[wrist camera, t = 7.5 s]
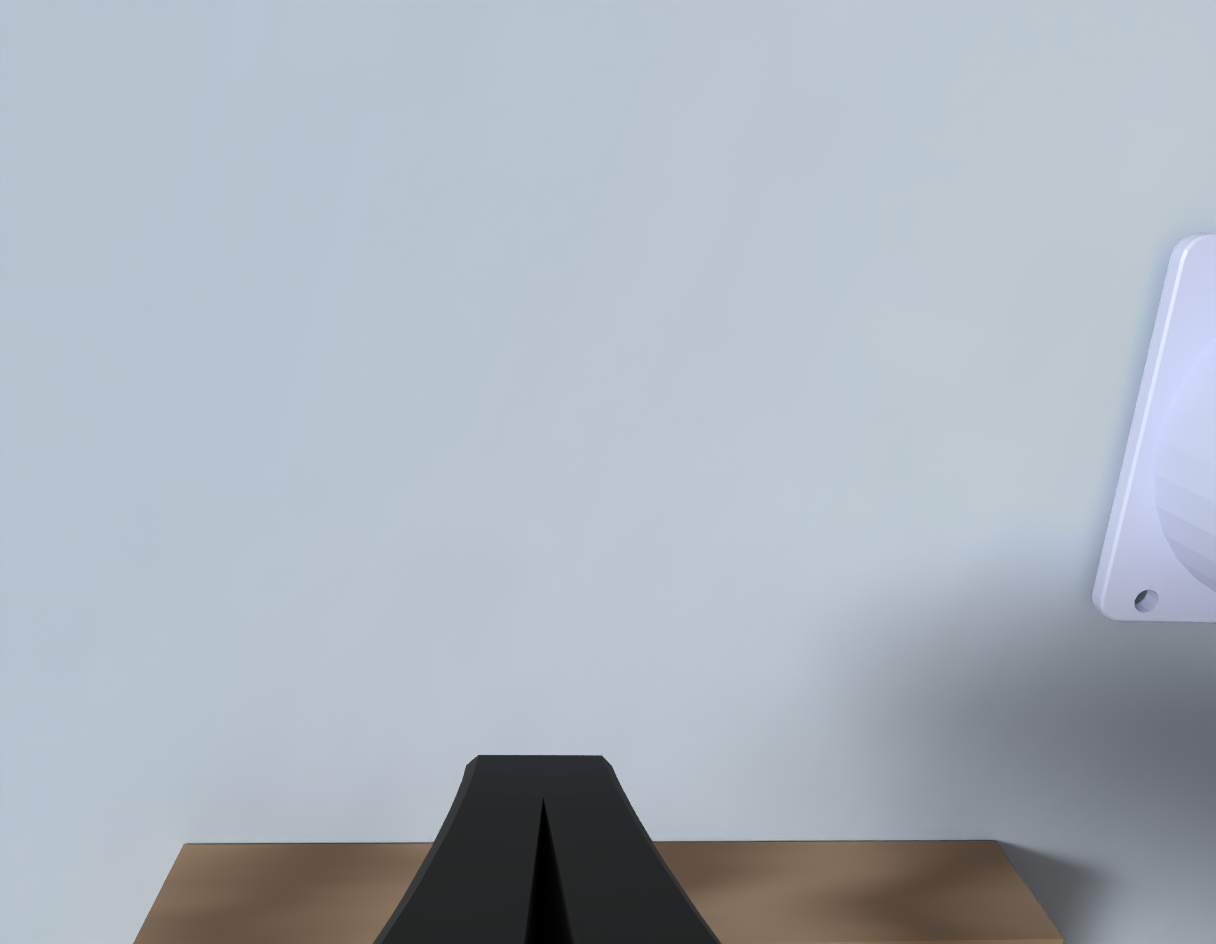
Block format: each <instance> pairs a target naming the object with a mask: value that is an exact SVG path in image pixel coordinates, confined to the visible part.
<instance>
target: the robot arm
mask: <svg viewBox="0 0 1216 944" xmlns="http://www.w3.org/2000/svg"><path fill="white" fill-rule="evenodd" d="M1144 590H1147V594H1146V596H1145V598H1144V599H1143V600H1142V601H1141V602H1139V603H1137V604H1135V599H1136V597H1137V595H1138V594H1140V593H1141V592H1142V591H1144ZM1092 602H1093V604H1094V606H1095V608H1096V609H1097V610H1098V611H1099V612H1101V613H1102V614H1103V615H1105V616H1106V617H1107V618H1109V619H1110V620H1115V621H1139V622H1190V623H1216V234H1209V233H1198V234H1191V235H1189V236H1187V237H1186V238H1184V239H1182V240H1181V241H1180V242H1179V243H1178V245H1177V246H1176V247H1175V248H1174V250H1173V253H1172V255H1171V257H1170V261H1169V265H1168V269H1167V274H1166V278H1165V282H1164V287H1163V291H1162V295H1161V300H1160V304H1159V308H1158V312H1157V317H1156V321H1155V325H1154V330H1153V334H1152V338H1151V343H1150V347H1149V351H1148V356H1147V360H1146V364H1145V368H1144V373H1143V377H1142V381H1141V386H1140V390H1139V394H1138V399H1137V403H1136V407H1135V412H1134V416H1133V420H1132V425H1131V429H1130V433H1129V437H1128V442H1127V446H1126V450H1125V455H1124V459H1123V463H1122V468H1121V472H1120V476H1119V481H1118V485H1117V489H1116V493H1115V498H1114V502H1113V506H1112V511H1111V515H1110V519H1109V524H1108V528H1107V532H1106V537H1105V541H1104V545H1103V550H1102V554H1101V558H1100V562H1099V567H1098V571H1097V575H1096V580H1095V584H1094V588H1093V593H1092ZM373 944H722V943H721V942H720V941H719V939H718V938H717V937H716V935H715V934H714V932H713V931H712V930H711V928H710V927H709V926H708V924H707V923H706V921H705V920H704V919H703V917H702V916H701V915H700V913H699V912H698V910H697V909H696V907H695V906H694V904H693V903H692V901H691V900H690V898H689V897H688V895H687V894H686V892H685V891H684V889H683V888H682V887H681V885H680V884H679V882H678V881H677V879H676V878H675V876H674V875H673V873H672V872H671V870H670V869H669V867H668V866H667V864H666V863H665V861H664V859H663V858H662V856H661V855H660V853H659V852H658V850H657V848H656V847H655V845H654V844H653V842H652V840H651V838H650V837H649V835H648V833H647V832H646V830H645V828H644V827H643V825H642V823H641V822H640V820H639V818H638V816H637V815H636V813H635V811H634V809H633V807H632V806H631V804H630V802H629V800H628V798H627V796H626V794H625V793H624V791H623V789H622V787H621V785H620V783H619V781H618V779H617V777H616V774H615V772H614V770H613V768H612V766H611V765H610V764H609V763H608V762H607V760H606V759H605V758H604V757H603V756H592V755H478V756H477V757H476V758H474V759H473V760H472V761H471V762H470V763H469V764H467V765H466V769H465V772H464V776H463V779H462V782H461V785H460V787H459V790H458V792H457V795H456V797H455V800H454V802H453V804H452V806H451V809H450V811H449V813H448V815H447V817H446V819H445V821H444V823H443V825H442V827H441V829H440V831H439V833H438V835H437V837H436V839H435V841H434V843H433V845H432V847H431V849H430V850H429V852H428V854H427V856H426V857H425V859H424V861H423V863H422V864H421V866H420V868H419V870H418V871H417V873H416V875H415V877H414V878H413V880H412V882H411V884H410V885H409V887H408V889H407V891H406V892H405V894H404V896H403V898H402V899H401V901H400V902H399V904H398V906H397V907H396V909H395V911H394V912H393V914H392V915H391V917H390V918H389V920H388V921H387V923H386V924H385V926H384V927H383V929H382V930H381V932H380V933H379V935H378V936H377V938H376V939H375V941H374V942H373Z"/></svg>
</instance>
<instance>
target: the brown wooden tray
mask: <svg viewBox="0 0 1216 944" xmlns="http://www.w3.org/2000/svg"><path fill="white" fill-rule="evenodd" d="M653 844H654V845H655V847H656V848H657V850H658V852H659V853H660V855H661V856H662V858H663V859H664V861H665V863H666V864H667V866H668V867H669V869H670V870H671V872H672V873H673V875H674V876H675V878H676V879H677V881H678V882H679V884H680V885H681V887H682V888H683V889H684V891H685V892H686V894H687V895H688V897H689V898H690V900H691V901H692V903H693V904H694V906H695V907H696V909H697V910H698V912H699V913H700V915H701V916H702V917H703V919H704V920H705V921H706V923H707V924H708V926H709V927H710V928H711V930H712V931H713V932H714V934H715V935H716V937H717V938H718V939H719V941H720V942H721V943H722V944H1063V943H1064V937H1063V936H1062V934H1061V933H1060V932H1059V930H1058V929H1057V927H1056V926H1055V924H1054V923H1053V922H1052V920H1051V919H1050V917H1049V916H1048V915H1047V913H1046V912H1045V910H1044V909H1043V907H1042V906H1041V905H1040V903H1039V902H1038V900H1037V899H1036V897H1035V896H1034V895H1033V893H1032V892H1031V890H1030V889H1029V888H1028V886H1027V885H1026V883H1025V882H1024V880H1023V879H1022V878H1021V876H1020V875H1019V873H1018V872H1017V871H1016V869H1015V868H1014V866H1013V865H1012V863H1011V862H1010V861H1009V859H1008V858H1007V856H1006V855H1005V853H1004V852H1003V851H1002V849H1001V848H1000V846H999V845H998V844H997V842H996V841H827V842H653ZM432 845H433V843H378V844H184V845H183V847H182V849H181V851H180V853H179V855H178V857H177V859H176V861H175V863H174V865H173V867H172V869H171V871H170V872H169V874H168V876H167V878H166V880H165V882H164V884H163V886H162V888H161V890H160V892H159V894H158V896H157V898H156V900H155V902H154V904H153V906H152V908H151V910H150V912H149V914H148V916H147V918H146V920H145V922H144V923H143V925H142V927H141V929H140V931H139V933H138V935H137V937H136V939H135V941H134V943H133V944H373V942H374V941H375V939H376V938H377V936H378V935H379V933H380V932H381V930H382V929H383V927H384V926H385V924H386V923H387V921H388V920H389V918H390V917H391V915H392V914H393V912H394V911H395V909H396V907H397V906H398V904H399V902H400V901H401V899H402V898H403V896H404V894H405V892H406V891H407V889H408V887H409V885H410V884H411V882H412V880H413V878H414V877H415V875H416V873H417V871H418V870H419V868H420V866H421V864H422V863H423V861H424V859H425V857H426V856H427V854H428V852H429V850H430V849H431V847H432Z"/></svg>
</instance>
